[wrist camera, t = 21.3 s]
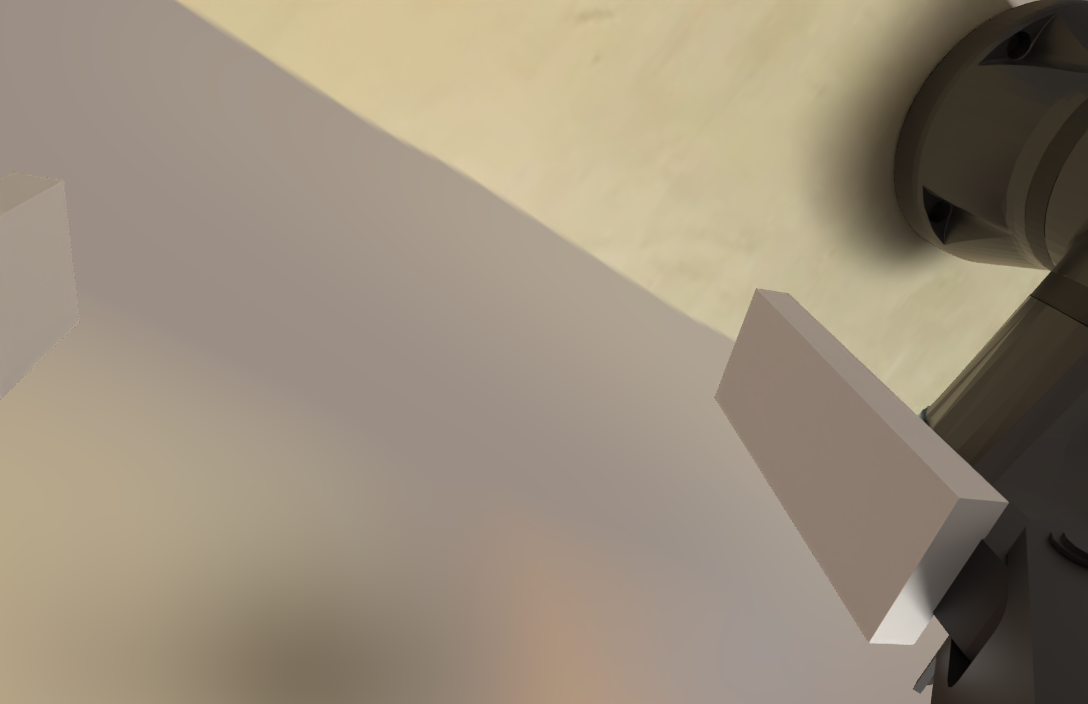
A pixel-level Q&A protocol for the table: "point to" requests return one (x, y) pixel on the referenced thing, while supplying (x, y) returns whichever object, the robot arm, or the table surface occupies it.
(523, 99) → the table surface
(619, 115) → the table surface
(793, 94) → the table surface
